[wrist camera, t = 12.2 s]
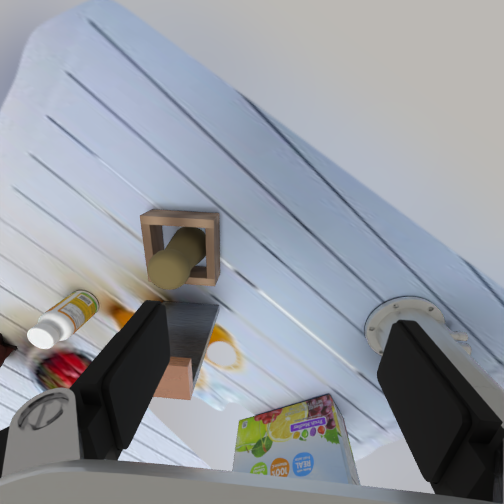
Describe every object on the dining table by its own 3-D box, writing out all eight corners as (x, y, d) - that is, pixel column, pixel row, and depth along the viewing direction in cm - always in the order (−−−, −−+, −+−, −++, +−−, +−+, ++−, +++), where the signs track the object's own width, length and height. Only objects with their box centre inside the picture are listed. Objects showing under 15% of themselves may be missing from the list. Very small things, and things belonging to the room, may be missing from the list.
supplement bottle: (74, 312, 47) (27, 351, 38) (68, 288, 45) (17, 322, 36) (102, 315, 47) (61, 354, 38) (96, 290, 45) (53, 326, 36)
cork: (168, 227, 39) (133, 254, 29) (206, 224, 38) (183, 250, 28) (177, 262, 41) (146, 298, 31) (212, 259, 41) (193, 296, 30)
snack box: (328, 389, 50) (380, 607, 26) (344, 416, 52) (405, 637, 28) (235, 418, 55) (209, 621, 31) (254, 441, 57) (243, 645, 34)
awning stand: (218, 286, 42) (187, 366, 26) (219, 310, 44) (190, 400, 28) (161, 281, 43) (97, 358, 27) (164, 306, 45) (106, 392, 29)
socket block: (219, 213, 37) (213, 220, 34) (219, 274, 41) (214, 286, 38) (152, 209, 38) (139, 215, 34) (159, 269, 42) (148, 281, 38)
